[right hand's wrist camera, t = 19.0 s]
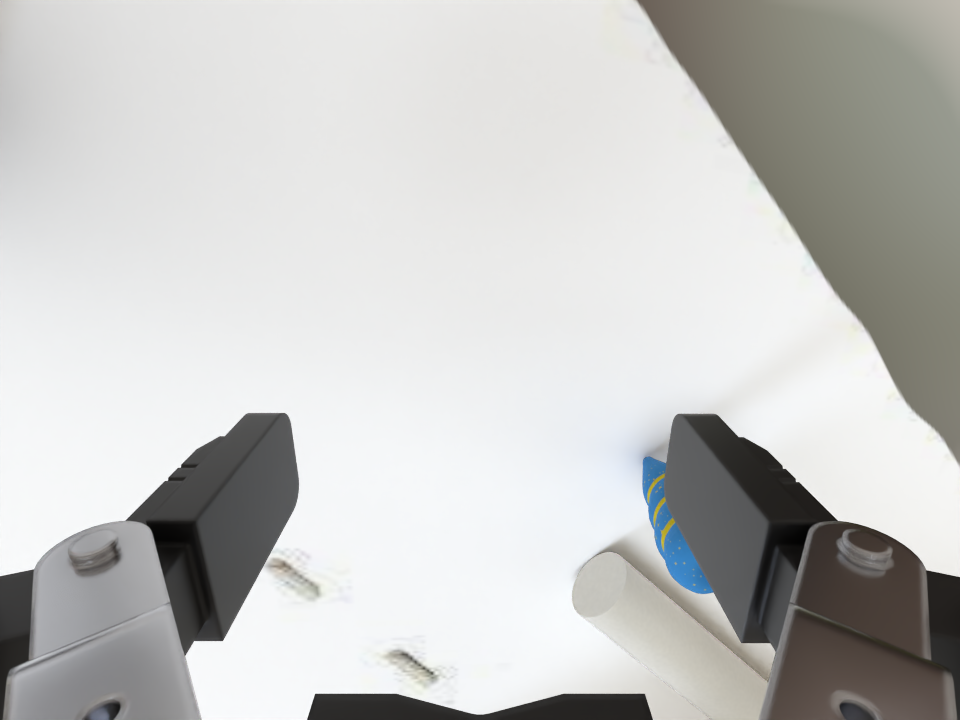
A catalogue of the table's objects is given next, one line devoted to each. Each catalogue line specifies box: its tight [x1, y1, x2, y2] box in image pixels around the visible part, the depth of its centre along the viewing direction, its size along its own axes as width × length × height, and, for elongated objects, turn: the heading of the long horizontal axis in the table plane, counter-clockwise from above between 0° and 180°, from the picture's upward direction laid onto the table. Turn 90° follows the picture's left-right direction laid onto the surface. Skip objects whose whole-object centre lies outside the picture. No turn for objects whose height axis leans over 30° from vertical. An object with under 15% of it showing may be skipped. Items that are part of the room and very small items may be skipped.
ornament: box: [643, 457, 713, 594], centre depth 37 cm, size 5×5×15 cm
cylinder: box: [572, 552, 768, 720], centre depth 49 cm, size 26×6×6 cm, turn 46°
